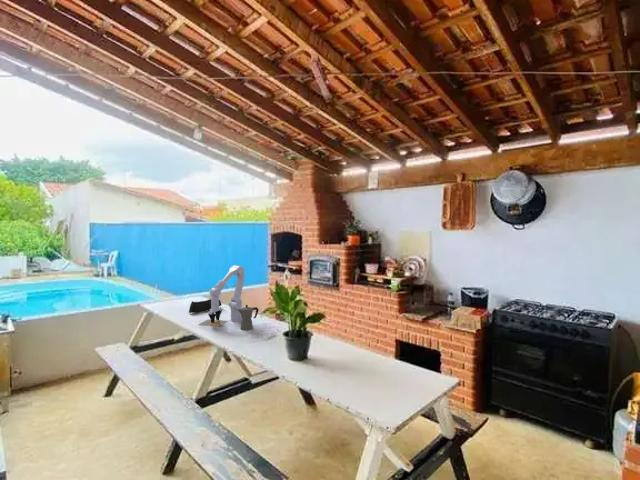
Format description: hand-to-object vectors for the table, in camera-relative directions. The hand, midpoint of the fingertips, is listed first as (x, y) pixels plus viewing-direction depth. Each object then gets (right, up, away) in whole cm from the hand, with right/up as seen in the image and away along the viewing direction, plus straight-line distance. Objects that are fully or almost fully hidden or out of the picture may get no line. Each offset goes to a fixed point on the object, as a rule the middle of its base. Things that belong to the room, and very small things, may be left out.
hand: (215, 321), depth 278 cm
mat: (-3, -3, +4) cm, 6 cm away
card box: (0, -3, 0) cm, 3 cm away
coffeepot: (+27, -4, -7) cm, 28 cm away
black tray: (-21, -1, +42) cm, 47 cm away
